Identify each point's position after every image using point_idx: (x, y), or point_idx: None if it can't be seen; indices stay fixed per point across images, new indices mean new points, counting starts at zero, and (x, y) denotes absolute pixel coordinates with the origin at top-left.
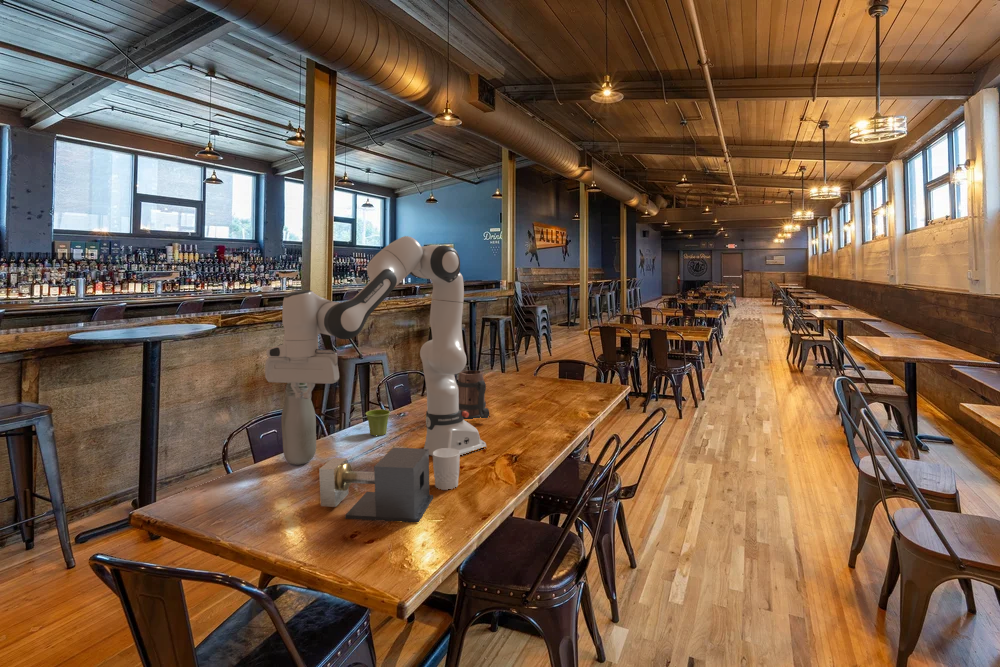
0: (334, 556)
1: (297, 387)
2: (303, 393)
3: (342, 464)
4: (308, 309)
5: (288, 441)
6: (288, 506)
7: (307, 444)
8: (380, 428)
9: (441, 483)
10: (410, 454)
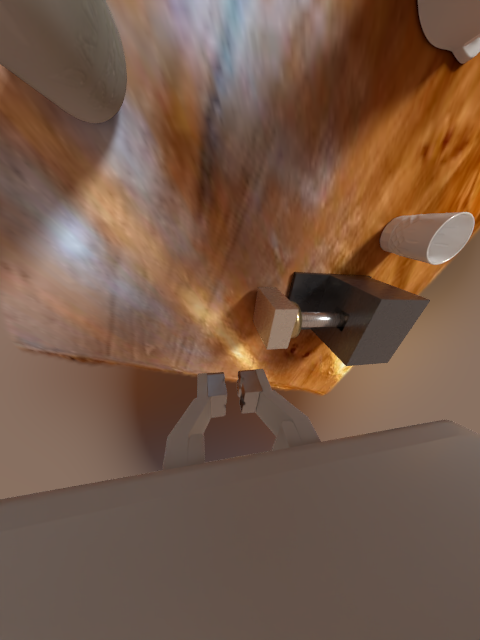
0: (284, 373)
1: (197, 428)
2: (242, 410)
3: (295, 331)
4: None
5: (39, 90)
6: (207, 310)
7: (110, 80)
8: None
9: (391, 252)
10: (397, 325)
